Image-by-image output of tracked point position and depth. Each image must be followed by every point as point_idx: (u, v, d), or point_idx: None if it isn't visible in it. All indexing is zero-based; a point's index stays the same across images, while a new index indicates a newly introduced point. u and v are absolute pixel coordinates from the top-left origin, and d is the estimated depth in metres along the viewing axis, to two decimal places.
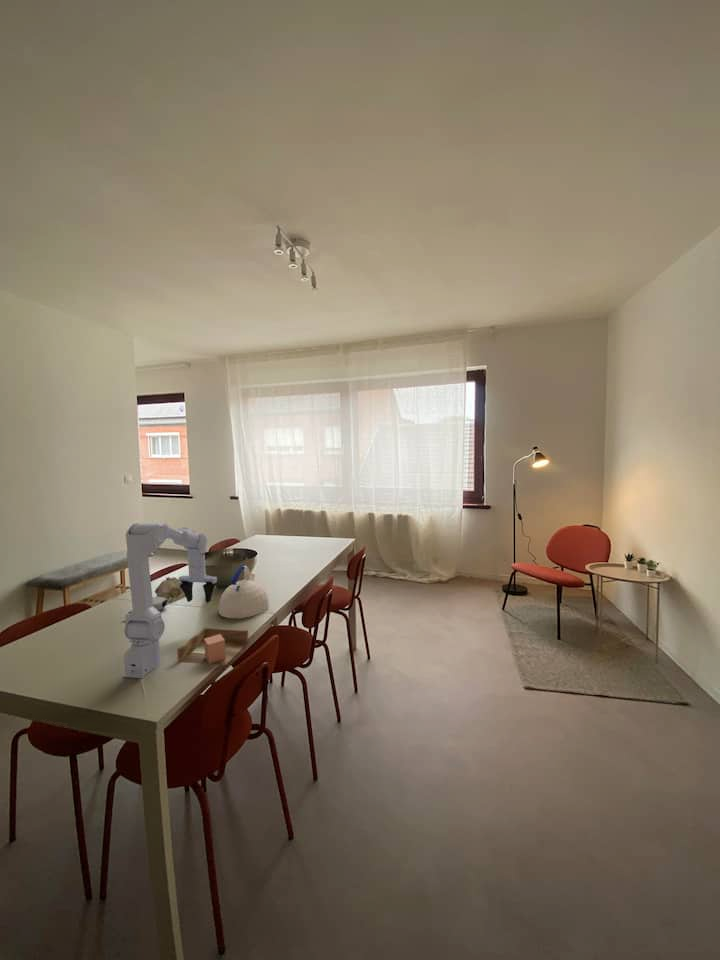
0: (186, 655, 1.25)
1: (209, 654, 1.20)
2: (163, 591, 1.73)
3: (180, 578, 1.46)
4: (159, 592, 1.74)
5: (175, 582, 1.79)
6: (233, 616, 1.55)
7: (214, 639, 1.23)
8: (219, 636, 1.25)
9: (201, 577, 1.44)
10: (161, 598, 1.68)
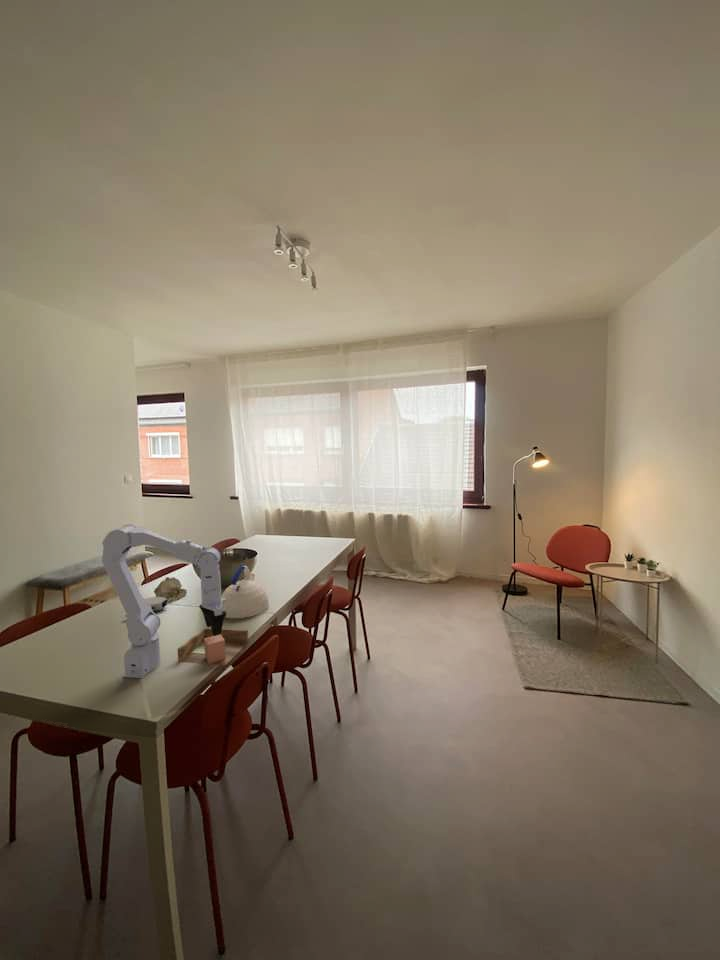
0: (186, 655, 1.25)
1: (209, 654, 1.20)
2: (162, 591, 1.73)
3: None
4: (159, 592, 1.74)
5: (175, 582, 1.80)
6: (233, 616, 1.55)
7: (214, 639, 1.23)
8: (219, 636, 1.25)
9: (209, 604, 1.19)
10: (161, 598, 1.68)
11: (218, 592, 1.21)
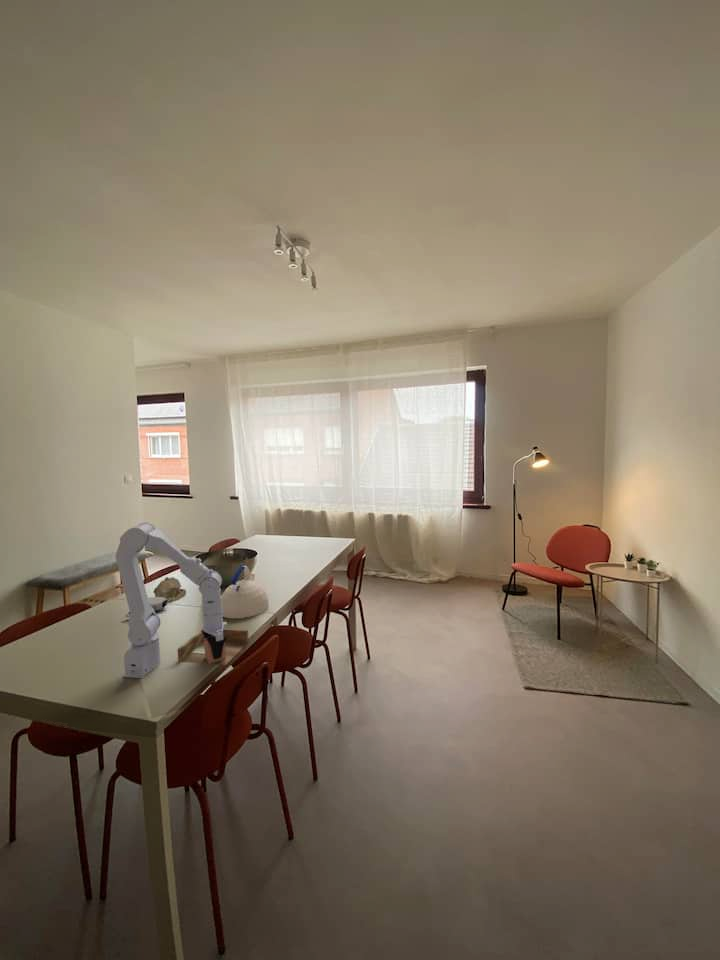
0: (186, 655, 1.25)
1: (209, 654, 1.20)
2: (162, 591, 1.73)
3: None
4: (158, 592, 1.74)
5: (174, 582, 1.80)
6: (233, 616, 1.55)
7: None
8: None
9: (210, 628, 1.20)
10: (161, 598, 1.68)
11: (219, 616, 1.21)
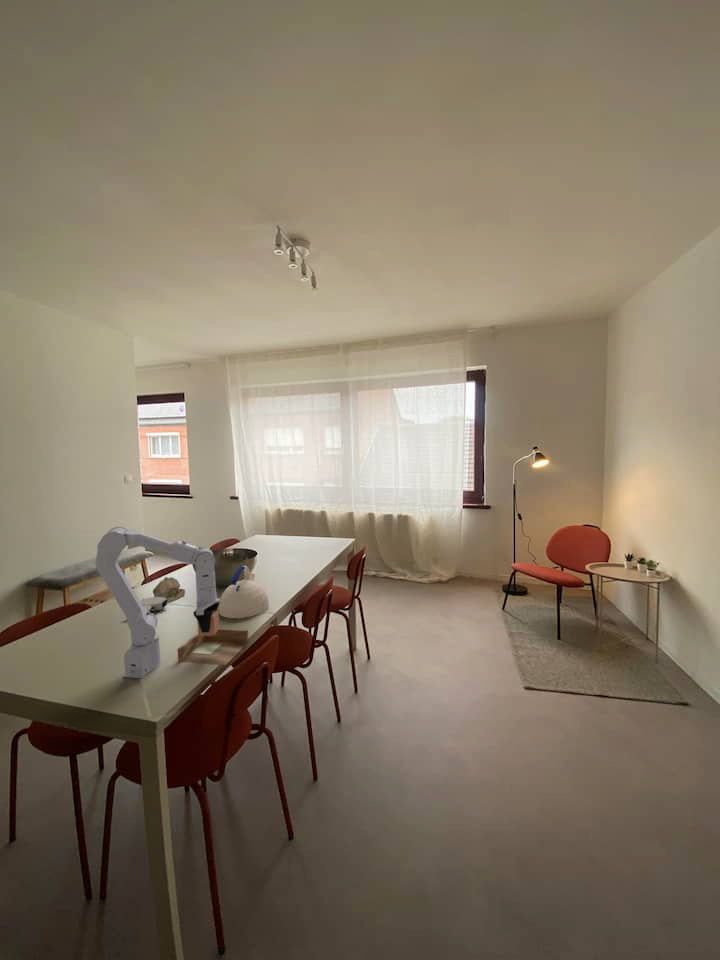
0: (186, 655, 1.25)
1: (198, 627, 1.24)
2: (161, 591, 1.73)
3: None
4: (157, 592, 1.74)
5: (173, 582, 1.80)
6: (233, 616, 1.55)
7: None
8: (214, 612, 1.27)
9: (199, 602, 1.23)
10: (161, 598, 1.68)
11: (208, 592, 1.24)
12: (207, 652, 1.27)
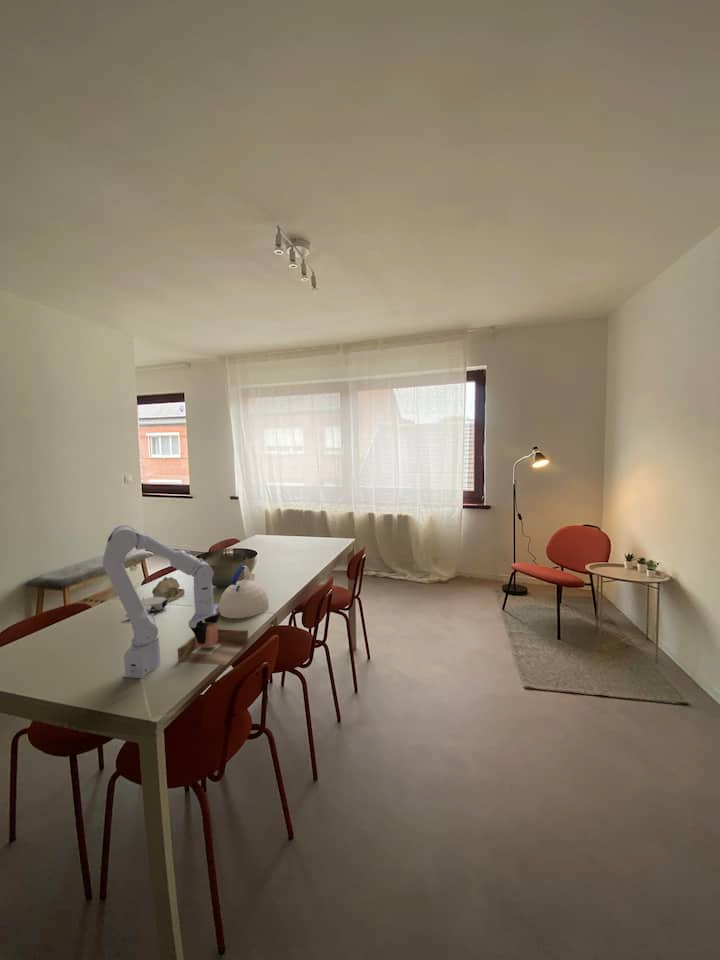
0: (186, 655, 1.25)
1: None
2: (161, 591, 1.73)
3: None
4: (157, 592, 1.74)
5: (173, 582, 1.80)
6: (233, 616, 1.55)
7: None
8: (212, 624, 1.30)
9: (196, 613, 1.26)
10: (161, 598, 1.68)
11: (204, 605, 1.26)
12: (207, 652, 1.27)
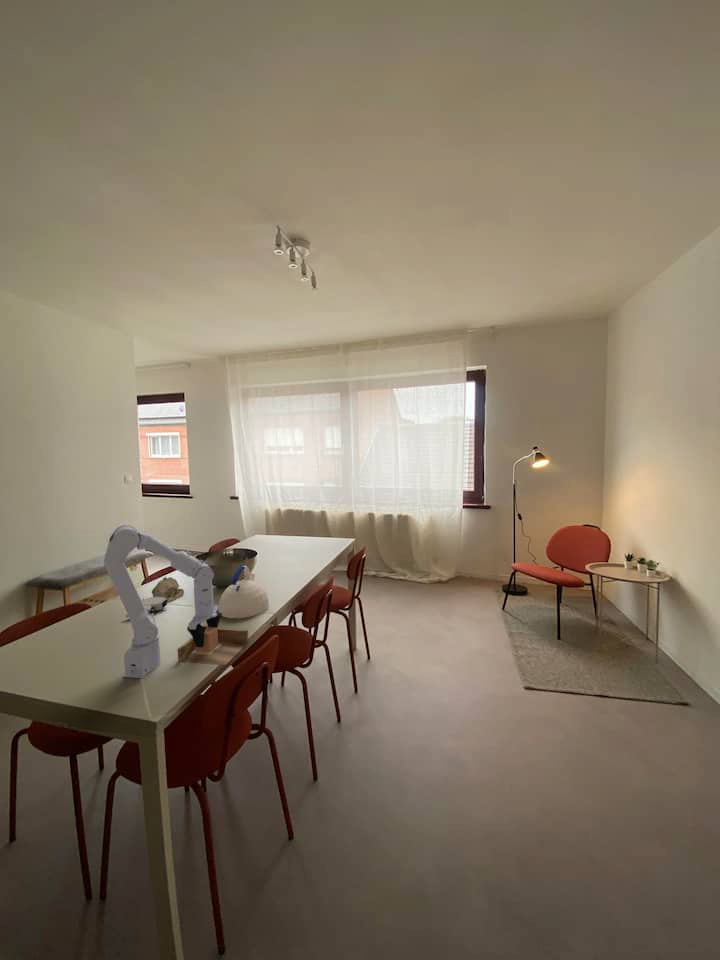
0: (186, 655, 1.25)
1: None
2: (161, 591, 1.73)
3: None
4: (157, 592, 1.74)
5: (172, 582, 1.80)
6: (233, 616, 1.55)
7: (205, 631, 1.29)
8: (212, 629, 1.30)
9: (196, 615, 1.27)
10: (161, 598, 1.68)
11: (204, 607, 1.26)
12: (207, 652, 1.27)
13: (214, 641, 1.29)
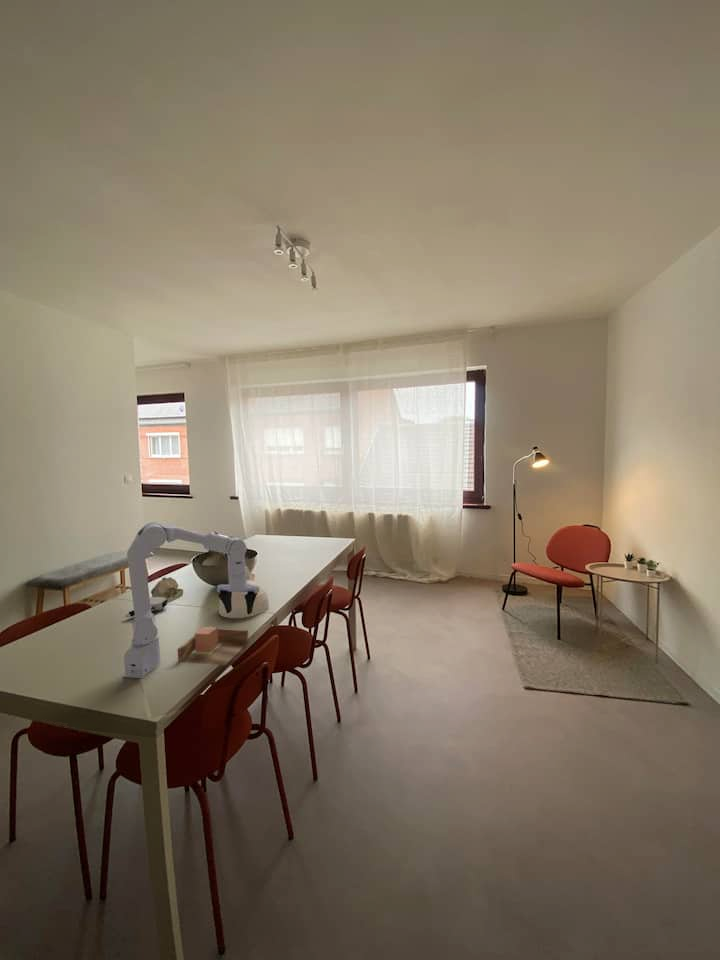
0: (186, 655, 1.25)
1: (196, 642, 1.27)
2: (160, 591, 1.73)
3: (219, 587, 1.34)
4: (156, 592, 1.74)
5: (172, 582, 1.80)
6: (233, 616, 1.55)
7: (205, 631, 1.29)
8: (212, 629, 1.30)
9: (242, 586, 1.32)
10: (161, 598, 1.68)
11: None
12: (207, 652, 1.27)
13: (214, 641, 1.29)
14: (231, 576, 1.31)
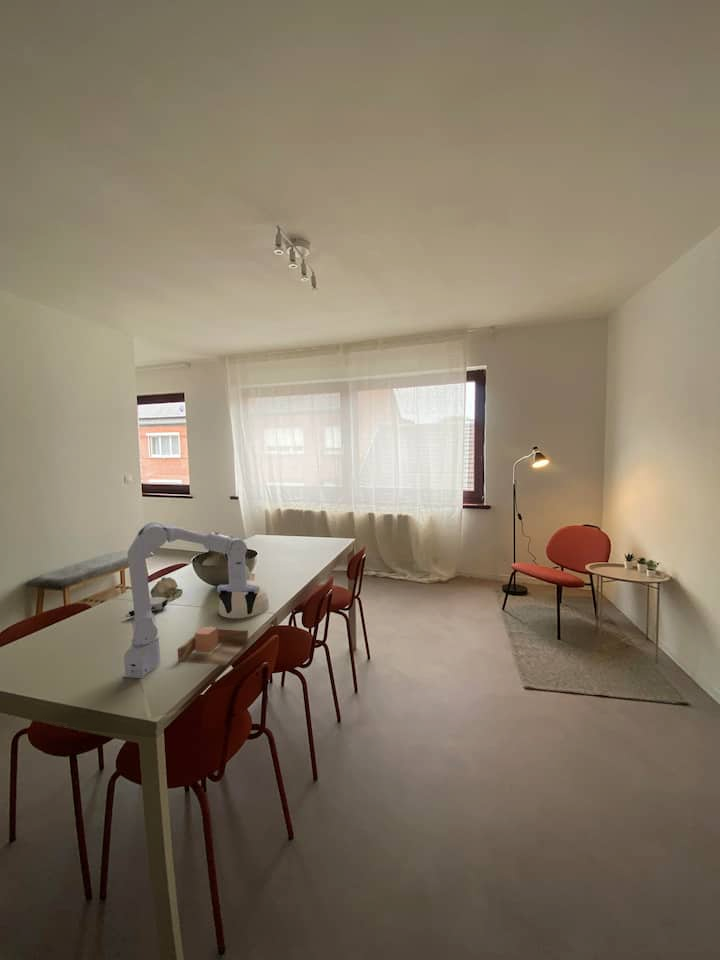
0: (186, 655, 1.25)
1: (196, 642, 1.27)
2: (160, 591, 1.73)
3: (219, 587, 1.34)
4: (155, 592, 1.74)
5: (171, 582, 1.80)
6: (233, 616, 1.55)
7: (205, 631, 1.29)
8: (212, 629, 1.30)
9: (242, 586, 1.32)
10: (161, 598, 1.68)
11: None
12: (207, 652, 1.27)
13: (214, 641, 1.29)
14: (231, 576, 1.31)
